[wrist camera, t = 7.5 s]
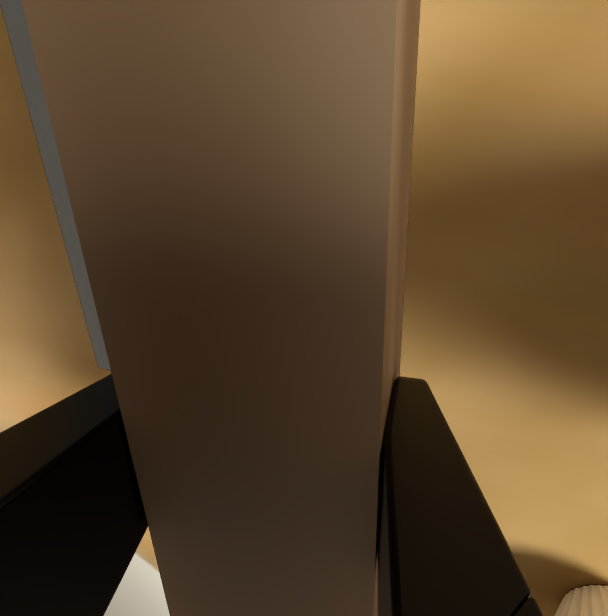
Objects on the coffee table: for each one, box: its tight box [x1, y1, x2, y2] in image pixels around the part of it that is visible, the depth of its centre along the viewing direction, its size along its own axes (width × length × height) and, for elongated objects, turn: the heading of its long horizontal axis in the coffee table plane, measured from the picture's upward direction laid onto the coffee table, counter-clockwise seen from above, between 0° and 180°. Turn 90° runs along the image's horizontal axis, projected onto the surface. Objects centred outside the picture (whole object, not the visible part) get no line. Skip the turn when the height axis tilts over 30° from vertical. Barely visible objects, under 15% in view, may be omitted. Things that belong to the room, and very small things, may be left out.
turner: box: [22, 0, 421, 616], centre depth 9 cm, size 5×18×3 cm, turn 3°
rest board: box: [0, 0, 111, 370], centre depth 17 cm, size 7×22×2 cm, turn 1°
